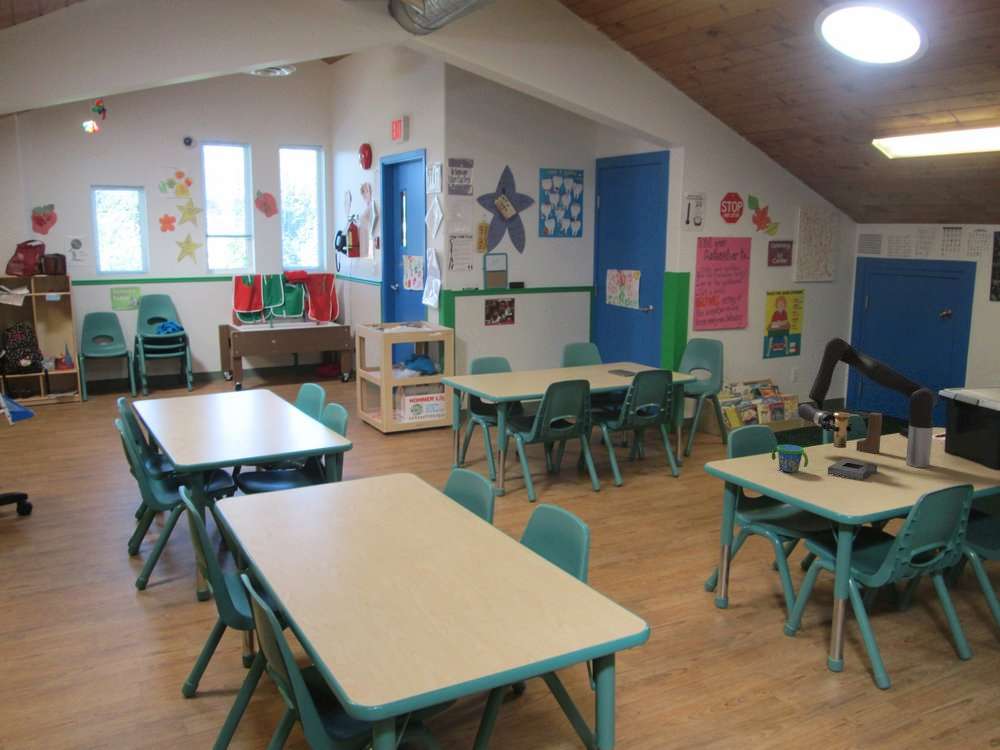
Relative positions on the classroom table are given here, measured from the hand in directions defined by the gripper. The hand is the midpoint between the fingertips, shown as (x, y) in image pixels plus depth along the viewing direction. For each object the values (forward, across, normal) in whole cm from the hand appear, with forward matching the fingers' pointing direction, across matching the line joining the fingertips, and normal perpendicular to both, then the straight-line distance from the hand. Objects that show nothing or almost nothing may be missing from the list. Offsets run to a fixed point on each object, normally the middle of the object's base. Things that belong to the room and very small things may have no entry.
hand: (844, 429), depth 353 cm
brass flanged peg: (-3, 0, +8) cm, 8 cm away
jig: (+4, +3, +18) cm, 18 cm away
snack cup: (0, -22, +18) cm, 29 cm away
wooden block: (-30, +27, +18) cm, 44 cm away
